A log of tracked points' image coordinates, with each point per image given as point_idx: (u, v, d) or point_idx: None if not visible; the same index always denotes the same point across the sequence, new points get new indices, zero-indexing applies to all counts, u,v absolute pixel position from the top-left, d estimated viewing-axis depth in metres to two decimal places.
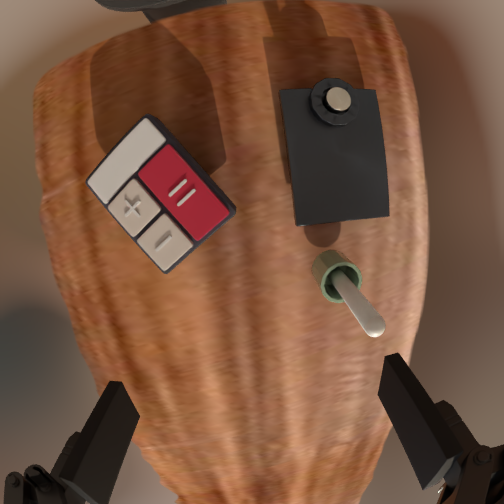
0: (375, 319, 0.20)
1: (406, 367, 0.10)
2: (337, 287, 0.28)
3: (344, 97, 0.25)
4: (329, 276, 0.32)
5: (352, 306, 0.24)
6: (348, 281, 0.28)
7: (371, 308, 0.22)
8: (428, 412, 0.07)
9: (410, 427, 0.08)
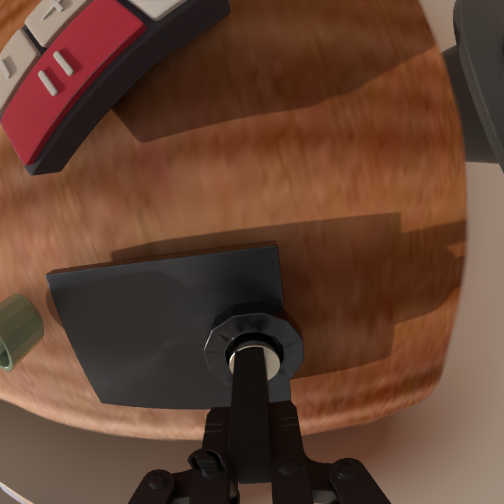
0: None
1: (261, 362, 0.13)
2: None
3: None
4: None
5: None
6: None
7: None
8: (256, 406, 0.10)
9: None
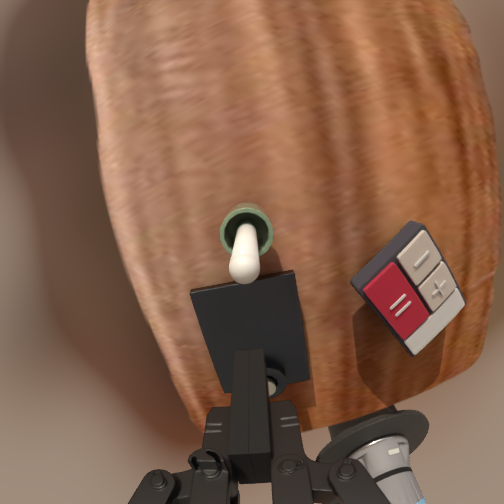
0: None
1: (261, 362, 0.13)
2: None
3: None
4: None
5: None
6: None
7: None
8: (256, 406, 0.10)
9: None
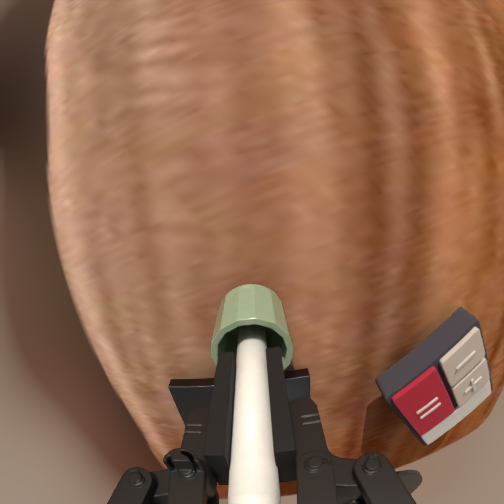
0: None
1: (279, 360, 0.13)
2: None
3: None
4: None
5: None
6: None
7: None
8: (277, 404, 0.10)
9: None
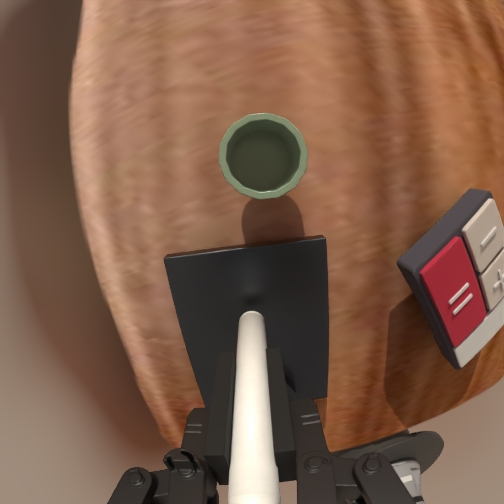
0: None
1: (279, 360, 0.13)
2: None
3: None
4: None
5: None
6: None
7: None
8: (277, 404, 0.10)
9: None
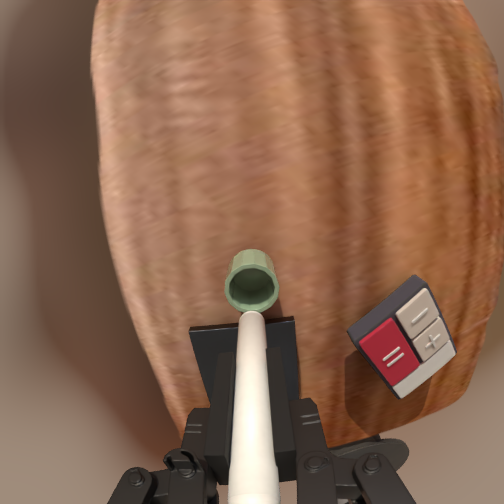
0: None
1: (279, 360, 0.13)
2: None
3: None
4: (265, 334, 0.18)
5: None
6: None
7: None
8: (277, 404, 0.10)
9: None
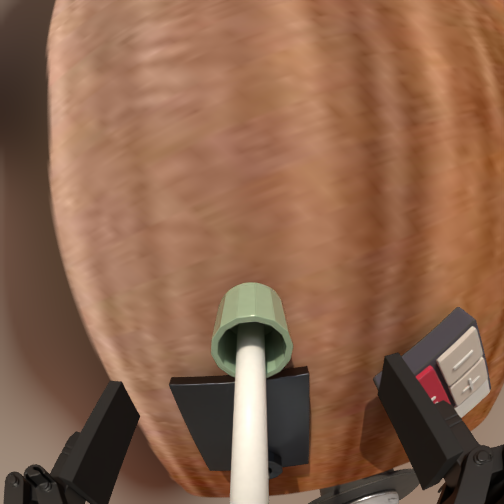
0: None
1: (406, 367, 0.10)
2: (265, 378, 0.15)
3: None
4: None
5: (267, 452, 0.11)
6: None
7: None
8: (428, 412, 0.07)
9: (409, 427, 0.08)
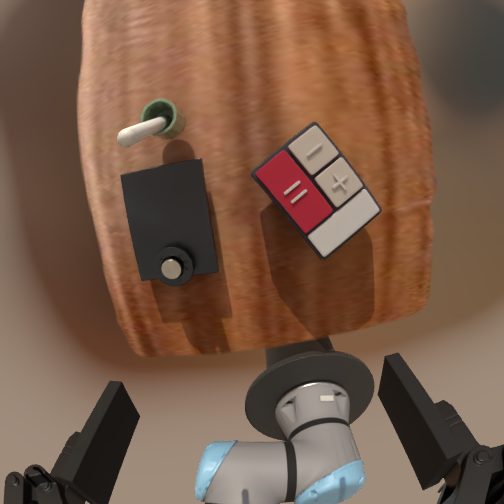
0: (128, 146, 0.23)
1: (406, 367, 0.10)
2: (161, 125, 0.29)
3: (166, 271, 0.37)
4: (169, 121, 0.32)
5: (147, 132, 0.25)
6: None
7: None
8: (428, 412, 0.07)
9: (410, 427, 0.08)
